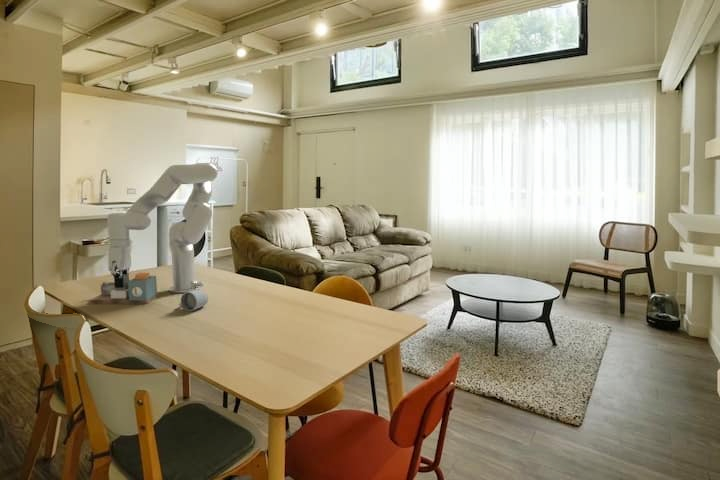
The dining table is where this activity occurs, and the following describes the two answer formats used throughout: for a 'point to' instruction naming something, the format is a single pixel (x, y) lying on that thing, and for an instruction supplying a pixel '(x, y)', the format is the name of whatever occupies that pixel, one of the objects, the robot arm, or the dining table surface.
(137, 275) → the button
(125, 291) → the grey stepped block
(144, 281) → the gauge cabinet
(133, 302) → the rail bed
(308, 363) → the dining table surface
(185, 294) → the ceramic mug
